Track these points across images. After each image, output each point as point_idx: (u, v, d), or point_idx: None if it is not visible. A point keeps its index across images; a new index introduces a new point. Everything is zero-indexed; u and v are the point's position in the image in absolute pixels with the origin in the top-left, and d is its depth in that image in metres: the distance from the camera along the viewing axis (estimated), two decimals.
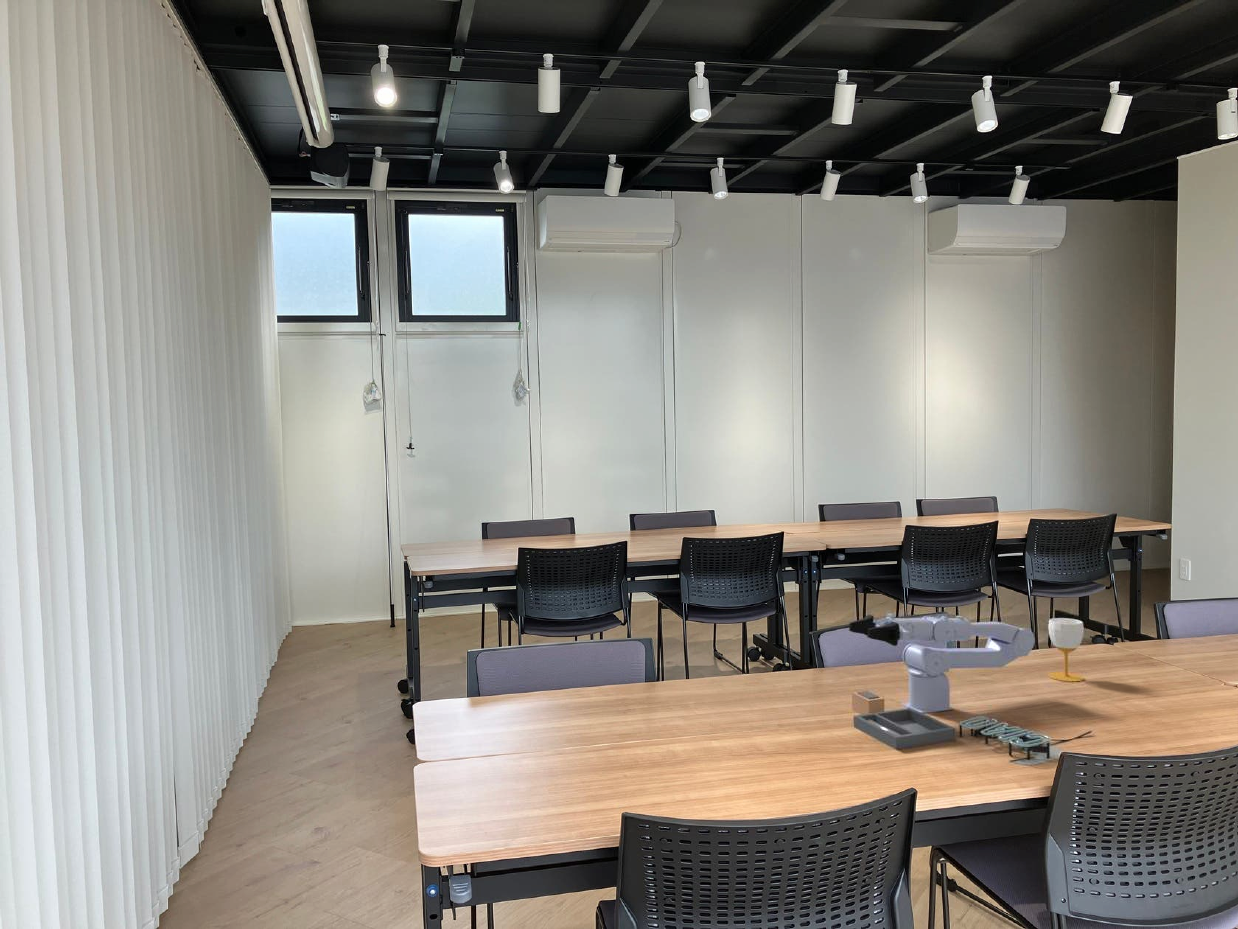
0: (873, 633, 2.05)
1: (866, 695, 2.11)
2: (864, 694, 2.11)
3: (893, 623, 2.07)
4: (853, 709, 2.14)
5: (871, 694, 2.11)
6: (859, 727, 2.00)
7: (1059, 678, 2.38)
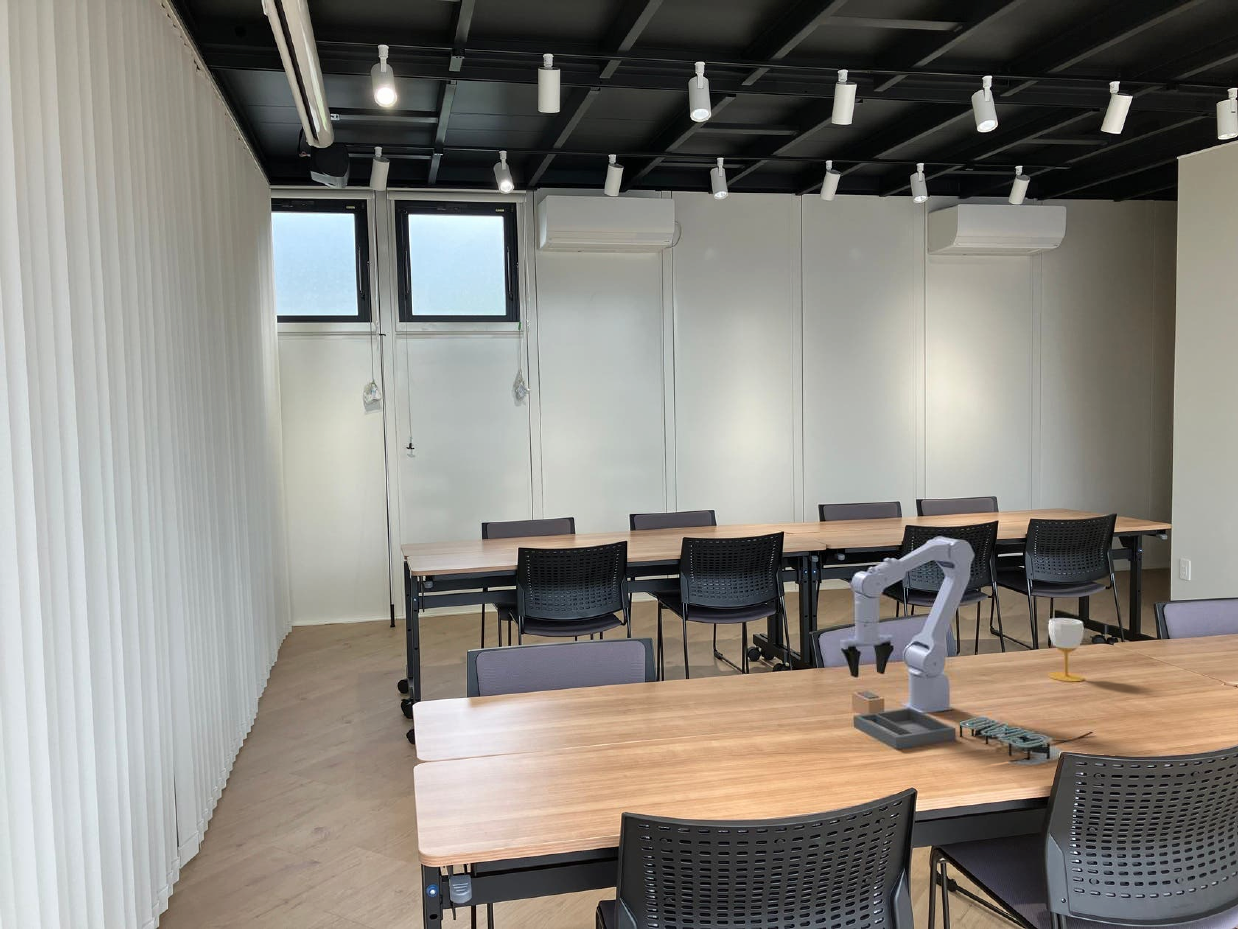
0: (852, 672, 2.10)
1: (866, 695, 2.11)
2: (864, 694, 2.11)
3: None
4: (853, 709, 2.14)
5: (871, 694, 2.11)
6: (859, 727, 2.00)
7: (1059, 678, 2.38)
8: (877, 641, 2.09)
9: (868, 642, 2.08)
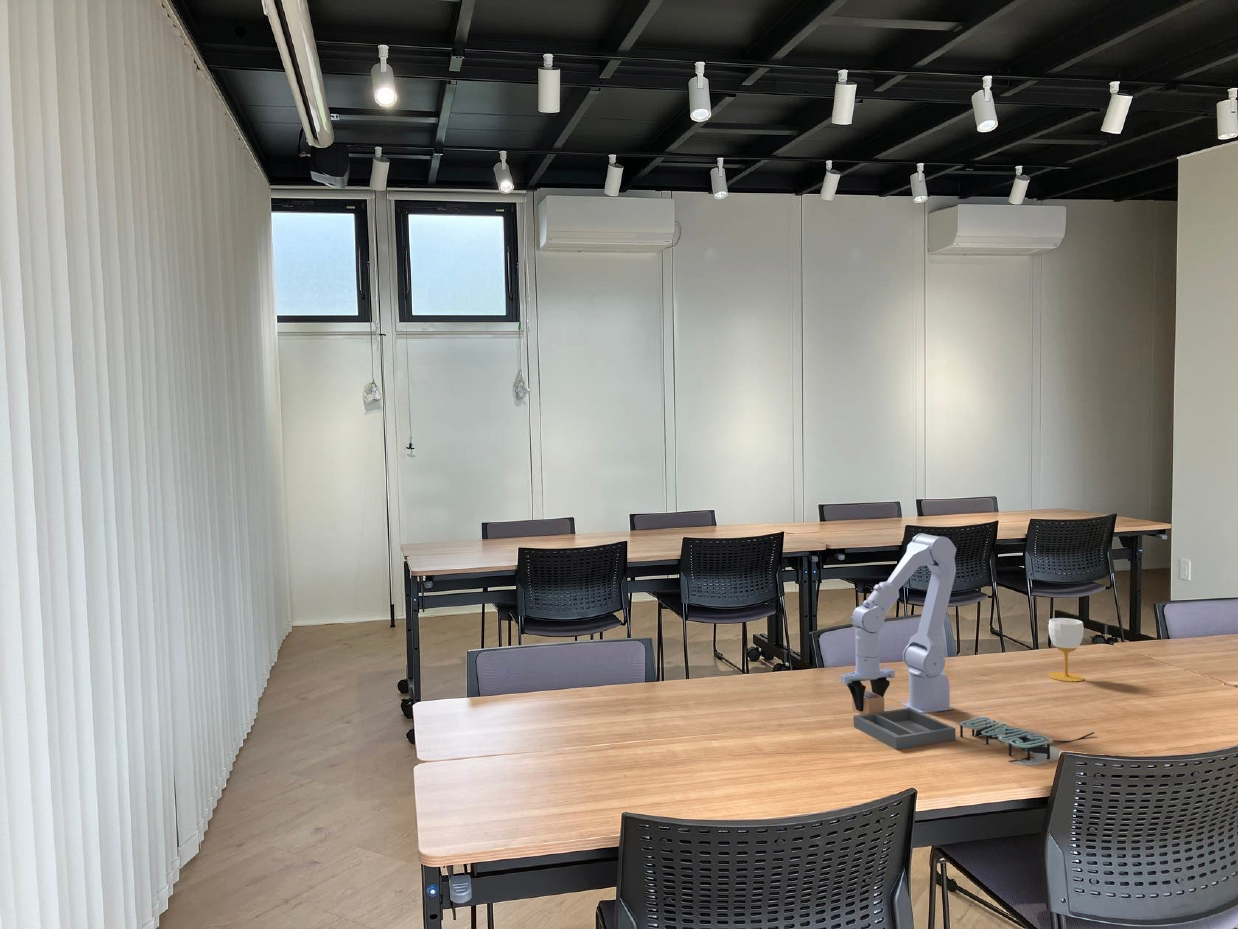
0: (857, 706, 2.11)
1: (866, 694, 2.11)
2: (864, 693, 2.11)
3: None
4: (853, 709, 2.14)
5: (871, 693, 2.11)
6: (859, 727, 2.00)
7: (1059, 678, 2.38)
8: (877, 676, 2.09)
9: (868, 677, 2.08)
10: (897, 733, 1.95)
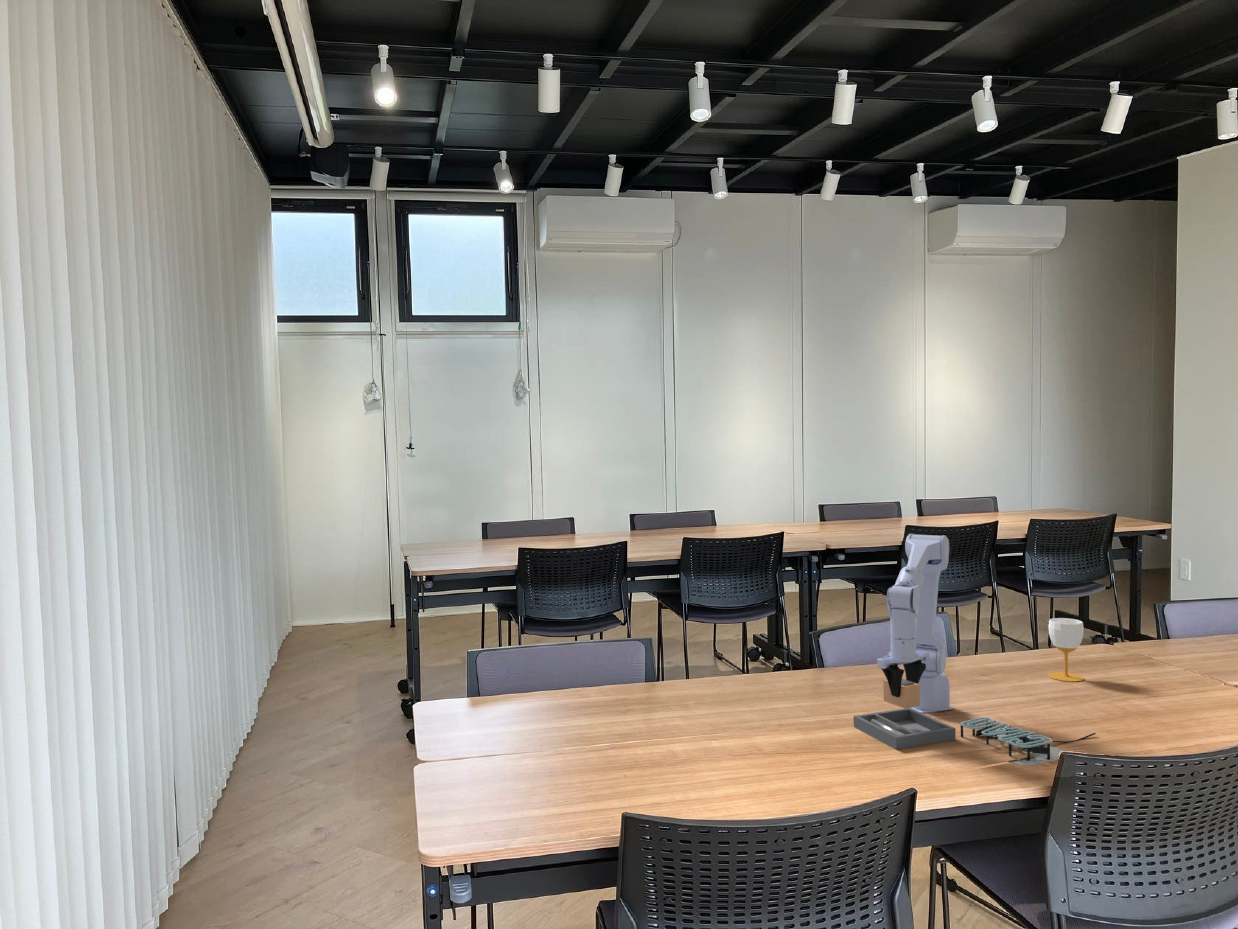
0: (893, 691, 1.99)
1: None
2: None
3: None
4: (885, 698, 2.02)
5: (905, 681, 2.00)
6: (859, 727, 2.00)
7: (1059, 678, 2.38)
8: (915, 659, 1.97)
9: (907, 660, 1.97)
10: None
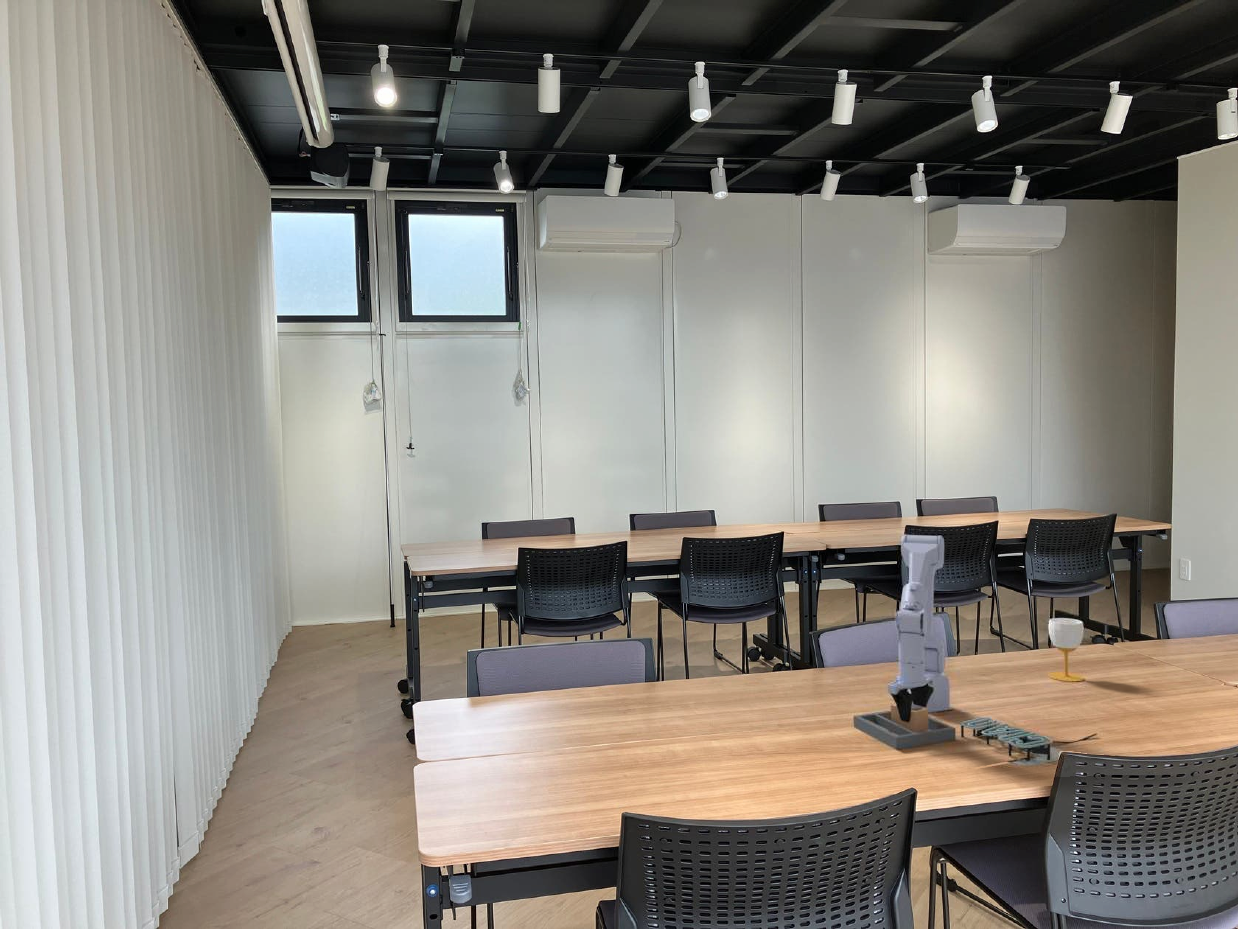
0: (903, 716, 1.96)
1: None
2: None
3: None
4: None
5: (913, 705, 1.98)
6: (859, 727, 2.00)
7: (1059, 678, 2.38)
8: (924, 683, 1.96)
9: (917, 685, 1.94)
10: (897, 733, 1.95)
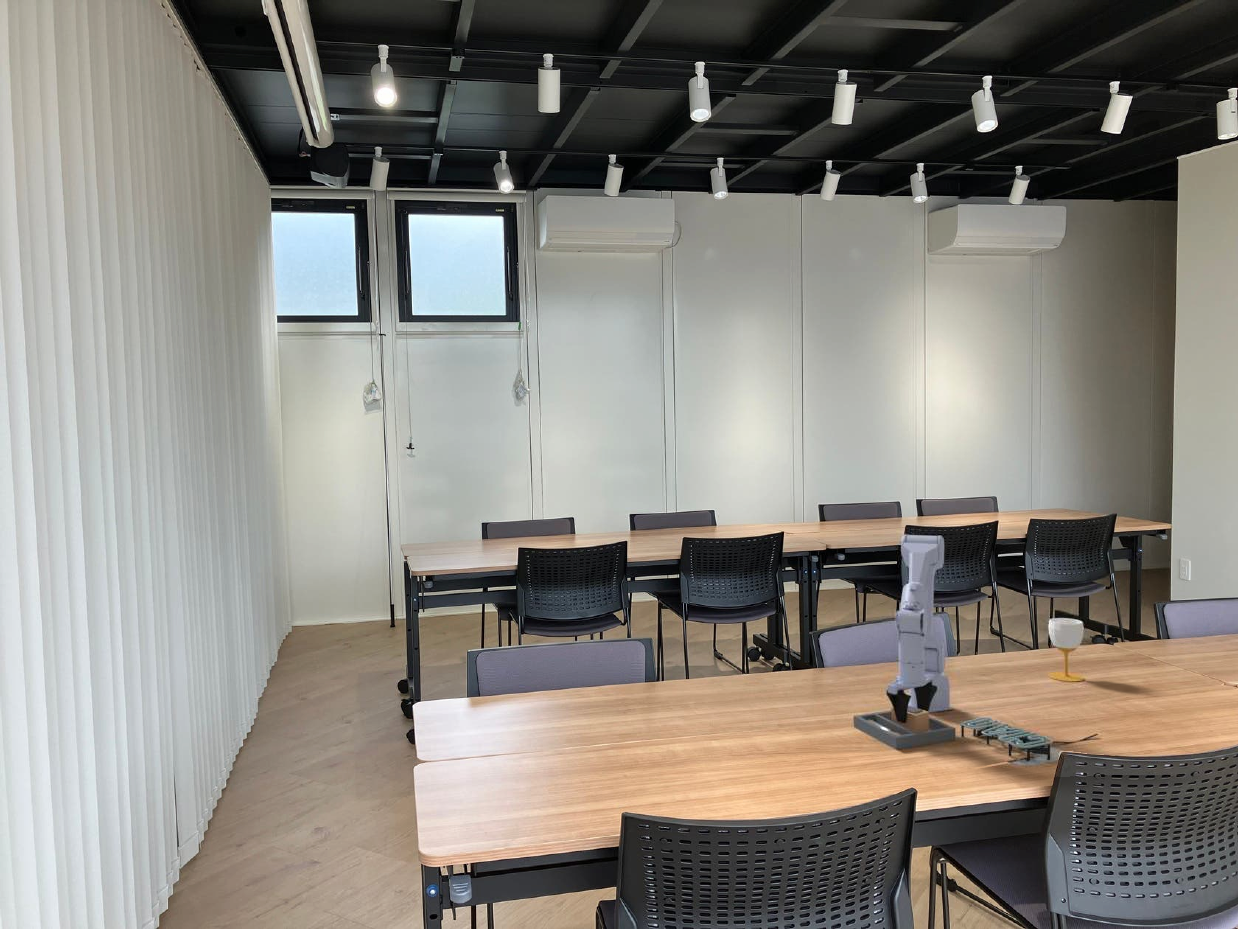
0: (899, 717, 1.96)
1: (909, 709, 1.97)
2: None
3: None
4: None
5: (913, 708, 1.98)
6: (859, 727, 2.00)
7: (1059, 678, 2.38)
8: (924, 683, 1.96)
9: (917, 685, 1.94)
10: None
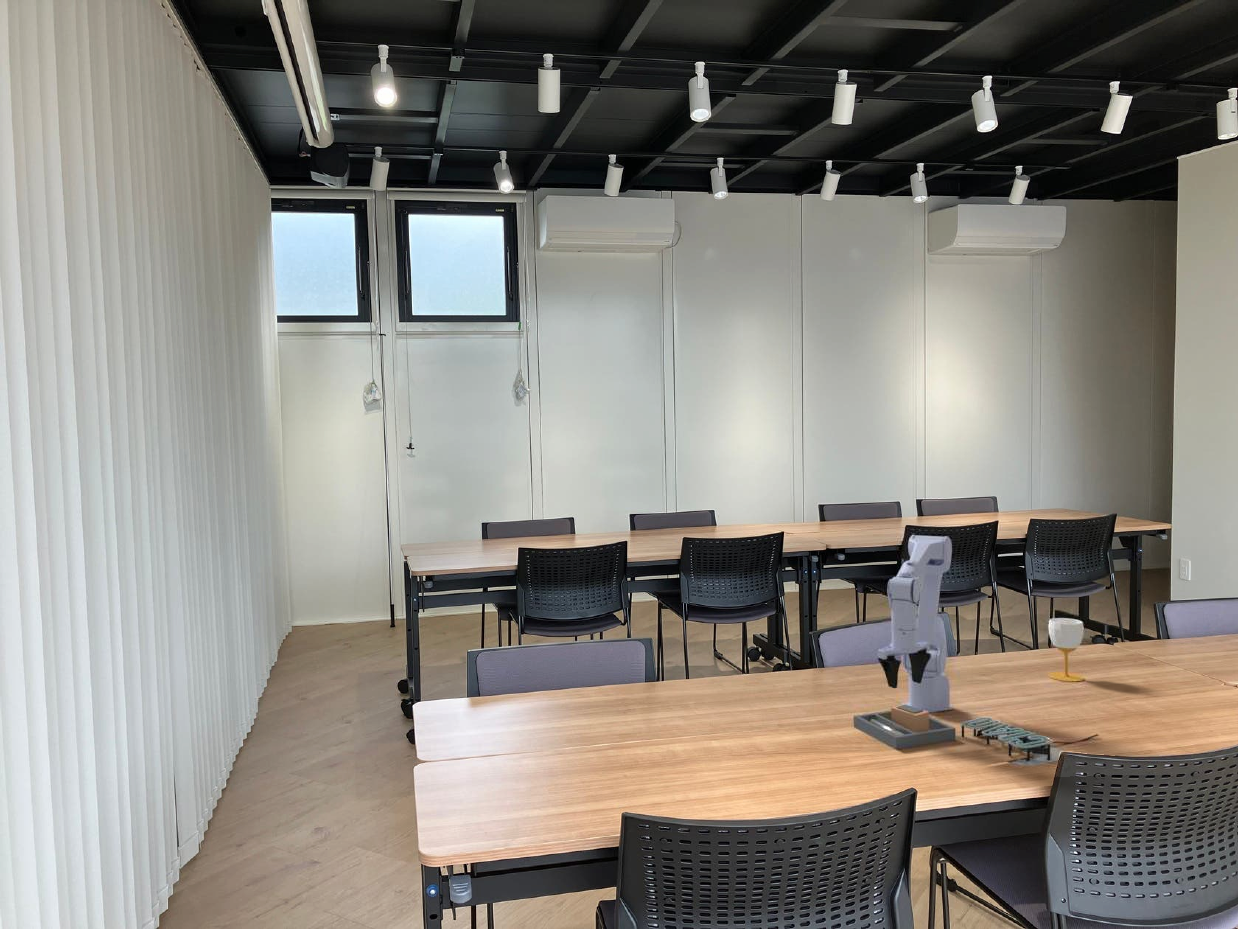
0: (890, 682, 2.00)
1: (909, 709, 1.97)
2: (906, 708, 1.98)
3: None
4: None
5: (913, 708, 1.98)
6: (859, 727, 2.00)
7: (1059, 678, 2.38)
8: (916, 650, 1.99)
9: (907, 651, 1.98)
10: None
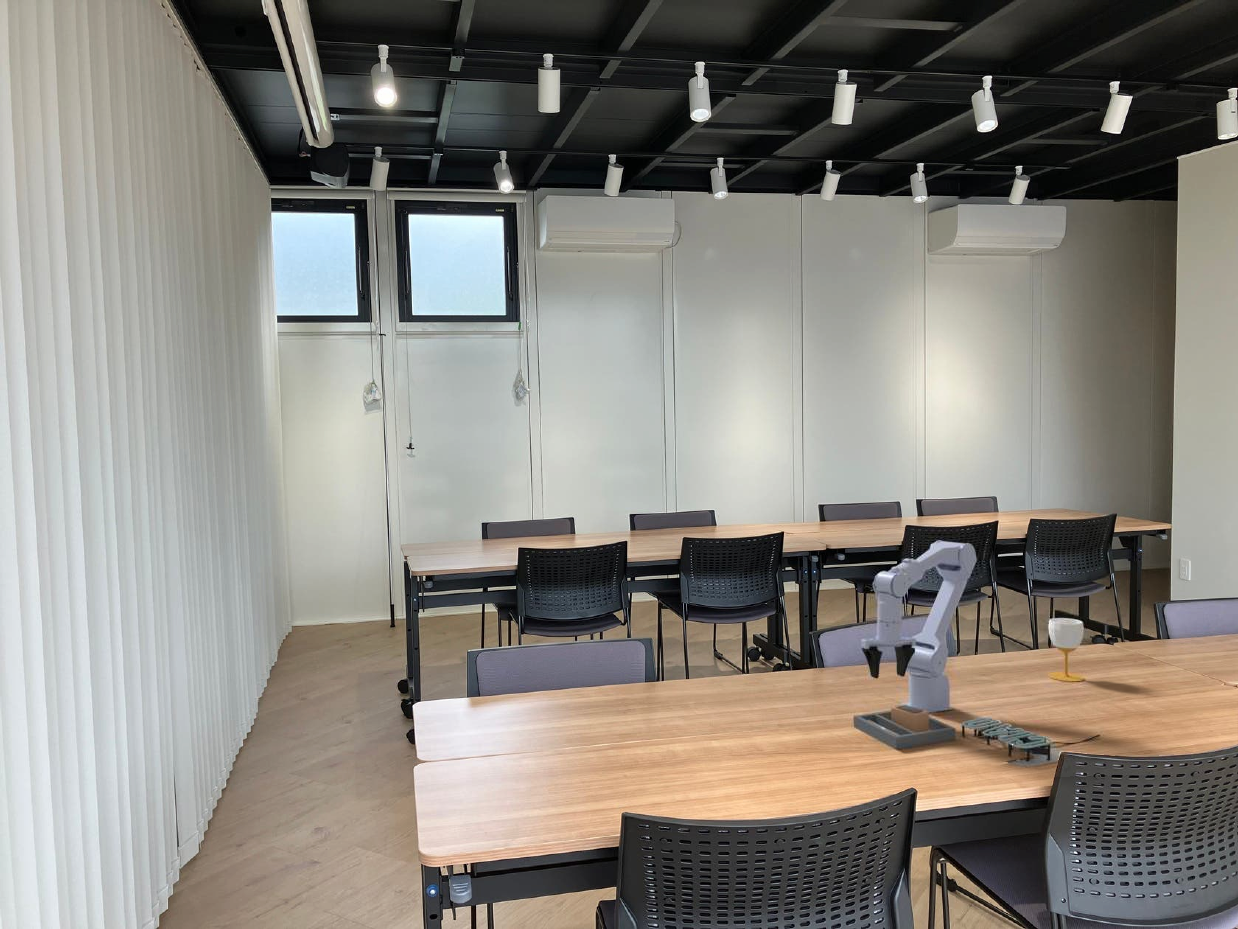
0: (872, 672, 2.07)
1: (909, 709, 1.97)
2: (906, 708, 1.98)
3: None
4: None
5: (913, 708, 1.98)
6: (859, 727, 2.00)
7: (1059, 678, 2.38)
8: (899, 642, 2.06)
9: (890, 642, 2.05)
10: (897, 733, 1.95)
